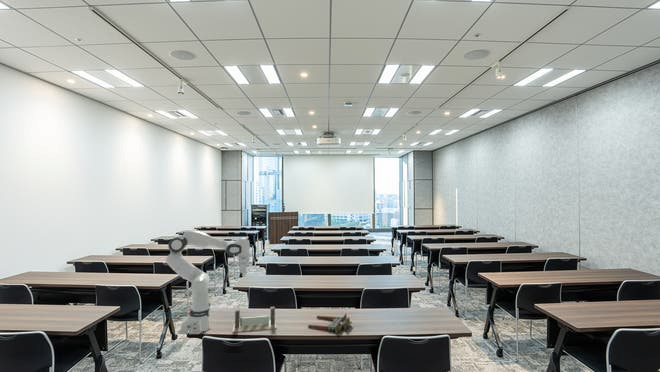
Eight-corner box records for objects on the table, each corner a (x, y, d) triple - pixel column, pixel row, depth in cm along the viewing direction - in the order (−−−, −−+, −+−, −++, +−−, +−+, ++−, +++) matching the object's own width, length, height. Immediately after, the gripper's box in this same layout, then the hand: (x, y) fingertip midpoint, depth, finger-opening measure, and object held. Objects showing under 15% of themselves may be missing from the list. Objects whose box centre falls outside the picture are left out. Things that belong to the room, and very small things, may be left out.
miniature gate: (319, 311, 254) (354, 313, 245) (319, 318, 254) (355, 321, 244) (305, 325, 229) (345, 328, 219) (306, 332, 229) (345, 336, 219)
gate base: (232, 332, 224) (232, 314, 224) (234, 324, 237) (234, 307, 237) (276, 328, 231) (276, 310, 231) (275, 320, 244) (275, 304, 244)
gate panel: (240, 326, 231) (240, 318, 231) (240, 325, 232) (240, 317, 233) (269, 323, 235) (269, 316, 235) (269, 322, 237) (269, 315, 237)
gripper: (240, 255, 257) (240, 272, 256) (239, 261, 237) (238, 279, 236) (248, 255, 258) (248, 272, 258) (247, 260, 238) (247, 279, 238)
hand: (243, 275), depth 247 cm, fingers closed
